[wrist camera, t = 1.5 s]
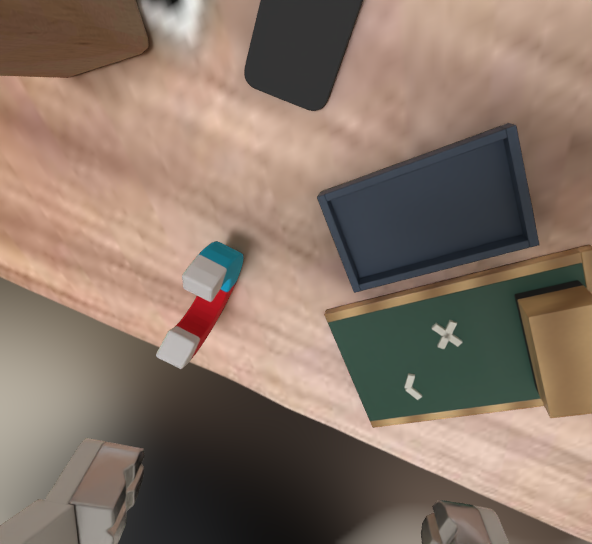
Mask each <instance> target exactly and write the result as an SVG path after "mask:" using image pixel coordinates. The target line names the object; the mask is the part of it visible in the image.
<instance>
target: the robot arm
mask: <svg viewBox="0 0 592 544" xmlns="http://www.w3.org/2000/svg"><path fill="white" fill-rule="evenodd" d="M143 458H144V449H143V448H137V447H131V446H126V445H120V444H114V443H109V442H105V441H100V440H94V439H88V438H86V439H85V440H84V441H82V442H81V443H80V445H79V446H78V448H77V449H76V451H75V453H74V454H73V456H72V457H71V459H70V460H69V462H68V464H67V465H66V467H65V468H64V470H63V471H62V473H61V475H60V476H59V478H58V479H57V481H56V483H55V484H54V486H53V487H52V489H51V491H50V492H49V494H48V495H47V497H46V498H45V500H40V499H38V500H37V501H35V502H34V503H32V504H31V505H29V506H28V507H27V508H25V509H24V510H22V511H21V512H19V513H18V514H16V515H15V516H13V517H12V518H10V519H9V520H7V521H6V522H4V523H3V524H2V525H0V544H118V541H119V539H120V537H121V534H122V531H123V529H124V527H125V525H126V511H127V510H128V509H129V508H131V507H132V506H133V505H134V503H135V501H136V498H137V496H138V493H139V489H140V487H141V483H142V479H143V474H144V467H143V466H142V465H141V463H142V461H143ZM433 510H434V513H431V514H429V515H427V516H426V518H425V520H424V521H423V523H422V530H421V538H422V544H509V542H508V540H507V537H506V535H505V532H504V530H503V528H502V525H501V523H500V520H499V518H498V516H497V514H496V513H495V511H494V510H492V509H490V508H485V507H478V506H473V505H468V504H462V503H456V502H449V501H443V500H439V501H436V502H435V504H434V505H433Z"/></svg>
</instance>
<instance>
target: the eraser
mask: <svg viewBox="0 0 592 544" xmlns="http://www.w3.org/2000/svg"><path fill="white" fill-rule="evenodd" d="M514 296H515V300H516V304H517V309H518V313H519V318H520V322H521V326H522V331H523V335H524V339H525V344H526V348H527V352H528V357H529V361H530V365H531V370H532V374H533V379H534V383H535V387H536V390H537V392H538V394H539V396H540V398H541V400H542V402H543V404H544V406H545V408H546V410H547V412H548V414H549V416H550V418H557V417H566V416H574V415H583V414H592V294H591V292H590V291H589V290H588V289H587V288H586V287H585V286H584V285H582V283H581V282H580V281H579V280H576V281H572V282H567V283H563V284H558V285H554V286H549V287H545V288H540V289H536V290H531V291H527V292H522V293H518V294H514Z"/></svg>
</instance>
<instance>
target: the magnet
mask: <svg viewBox="0 0 592 544" xmlns="http://www.w3.org/2000/svg"><path fill="white" fill-rule="evenodd" d="M242 264H243V254H242V253H240V252H238V251H236V250H234V249H232V248H230V247H228V246H226V245H224V244H222V243H220V242H218V241H215V242H213V243H211V244H209V245H208V246H207V247H205V248H204V249H203V250H202V251H201V252H200V254H199V255H198V256H197V257H196V258H195V259H194V260H193V262H192V263H191V264H190V265H189V266H188V268H187V269H186V271H185V272H184V273H183V275H182V279H183V288H184V289H185V290H187V291H189V292H191V293H193V294H195V295H197V297H196V299H195V300H194V302H193V304H192V305H191V307H190V308H189V310H188V311H187V313H186V314H185V316H184V317H183V318H182V319H181V321H180V322H179V323H178V324H177V325H176V326H175V327H174V328H172V329H171V330H169V331H168V333H167V335H166V337H165V339H164V341H163V342H162V344H161V346H160V348H159V350H158V352H157V354H156V356H157V357H158V358H160V359H162V360H164V361H166V362H168V363H170V364H172V365H174V366H176V367H178V368H180V369H182V368H183V367H184V366H185V365H187V363H188V362H189V361H190V360H191V359H192V358H193V356H194V355H195V354H196V353H197V351H198V350H199V348H200V347H201V346H202V344H203V343H204V341H205V340H206V338H207V336H208V335H209V333H210V332H211V330H212V328H213V327H214V325H215V323H216V321H217V320H218V318H219V316H220V314H221V312H222V311H223V309H224V307H225V305H226V303H227V301H228V299H229V297H230V295H231V293H232V291H233V288H234V286H235V284H236V282H237V279H238V276H239V274H240V271H241V268H242Z"/></svg>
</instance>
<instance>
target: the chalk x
mask: <svg viewBox="0 0 592 544" xmlns="http://www.w3.org/2000/svg"><path fill="white" fill-rule="evenodd" d="M456 325H457V322H456V321H453V320H449V322H448V324H447V326H446V328H443V327H442V326H440V325H439V324H438V323H435V324H434V325H433V326H432V327H431V328H432V330H434V331H435V332H437V333H438V334H440V335H441V338H440V340H439V342H438V344H437V347H439V348H442V349H445V347H446V345H447V343H448V341H450V342H451V343H453V344H454V345H456V346H457V347H458V346H459V345H460V344H461V343H463V342H462V340H461V339H459V338H458V337H457V336H455V335H454V334H452V333H453V331H454V329H455V327H456Z"/></svg>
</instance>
